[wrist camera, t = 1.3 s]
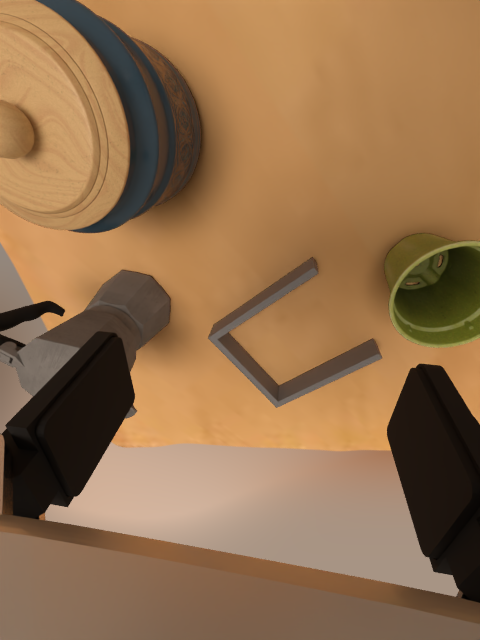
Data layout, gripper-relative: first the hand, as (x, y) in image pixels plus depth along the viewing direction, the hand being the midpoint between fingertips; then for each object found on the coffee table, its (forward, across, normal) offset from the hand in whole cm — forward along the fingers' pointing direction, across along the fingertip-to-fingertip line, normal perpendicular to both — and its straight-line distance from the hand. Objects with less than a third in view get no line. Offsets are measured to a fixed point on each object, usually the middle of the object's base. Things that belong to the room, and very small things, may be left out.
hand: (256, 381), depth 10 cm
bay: (+25, -3, +14) cm, 29 cm away
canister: (+25, +14, -7) cm, 30 cm away
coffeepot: (+25, +18, +12) cm, 33 cm away
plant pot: (+25, -14, +4) cm, 29 cm away
